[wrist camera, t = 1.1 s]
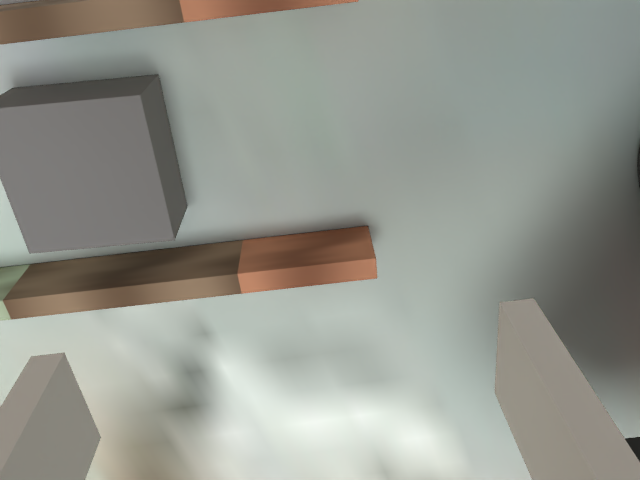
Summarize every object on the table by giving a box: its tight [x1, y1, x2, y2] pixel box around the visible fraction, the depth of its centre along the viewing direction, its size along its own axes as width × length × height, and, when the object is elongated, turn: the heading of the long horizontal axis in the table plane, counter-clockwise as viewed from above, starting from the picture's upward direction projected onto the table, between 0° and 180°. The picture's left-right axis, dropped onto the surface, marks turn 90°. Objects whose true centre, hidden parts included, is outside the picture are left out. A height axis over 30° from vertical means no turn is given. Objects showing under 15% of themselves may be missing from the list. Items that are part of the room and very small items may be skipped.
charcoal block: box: [0, 74, 187, 253], centre depth 27 cm, size 7×7×4 cm
